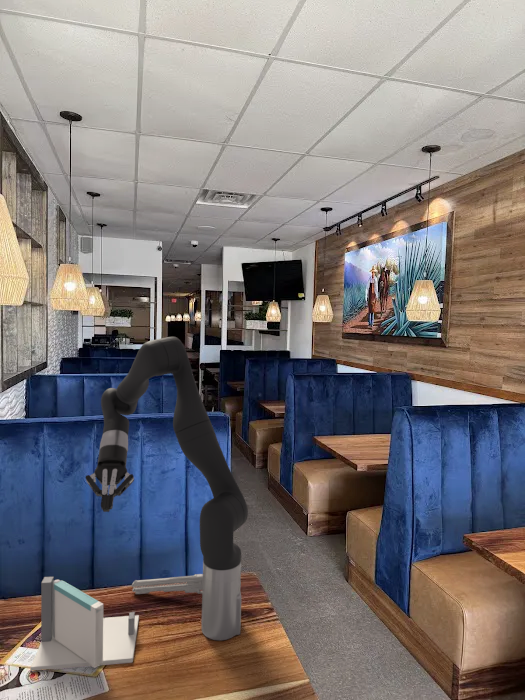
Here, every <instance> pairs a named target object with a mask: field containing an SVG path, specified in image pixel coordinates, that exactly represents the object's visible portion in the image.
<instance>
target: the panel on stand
mask: <svg viewBox="0 0 525 700" xmlns="http://www.w3.org/2000/svg"><path fill="white" fill-rule="evenodd" d="M54 581H55V580H54V576H44V577H43V579H42V581H41V583H40V584H41V585H40V586H41V590H40V591H41V593H40V595H41V596H40V597H41V600H40V601H41V603H40V604H41V612H40V613H41V617H40V618H41V621H40V623H41V624H40V625H41V627H40V628H41V629H40V631H41V633H40V635H41V637H40V639H41V640H40V641H41V642H40V644H39V647H38V649H37V651H36V653H35V656H34V658H33V659H32V663H31V665H30V668H29V669H30V670H31V671H32V670H41V669H54V670H63V669H64V668H65V669H74V668H86V666H87V667H88V668H89V667H92V666H91V665H90V663H88V662H87V661H85V660H84V659H82V658H81V657H80V656H78V655H77V654H75V653H74V652H73V651H71V650H70V649H68V648H67V647H65V646H64V645H63V644H61V643H60V642H58V641H57V640H56V639H55V638H54V637H53V582H54ZM135 613H136V612H135V611H132V612H129V613H128V614H129V615H124V616H123V615H122V616H112V617H111V616H110V617H103V663H102V664H100V665H99V666H108V665H116V664H117V665H118V664H119V665H120V664H132V663H133V661H134V656H135V649H136V641H137V634H138V628H139V627H138V625H139V620H140V615H139V614H135ZM61 668H62V669H61ZM30 670H29V671H30ZM31 671H30V672H31ZM32 672H33V671H32Z"/></svg>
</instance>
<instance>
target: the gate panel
mask: <svg viewBox="0 0 525 700" xmlns="http://www.w3.org/2000/svg"><path fill="white" fill-rule="evenodd" d="M103 618H104V602H101V601H100V600H98V599H96V598H94V597H92V596H90V595H88V594H87V593H85V592H84V591H82V590H80V589H79V588H76V587H75V586H73V585H71V583H70V584H69V583H67V582H66V581H64V580H60V579H55V580H54V582H53V637H54V638H55V639H56V640H57V641H58V642H60V643H61V644H63V645H64V646H65V647H67V648H68V649H70V650H71V651H73V652H74V653H75V654H77V655H78V656H80V657H81V658H82V659H84V660H85V661H87V662H88V663H90V665H91V666H90V667H92V668H94V669H96V668H97V667H99V666H101V665H100V664H102V663H103Z"/></svg>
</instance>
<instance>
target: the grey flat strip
mask: <svg viewBox="0 0 525 700" xmlns="http://www.w3.org/2000/svg"><path fill="white" fill-rule="evenodd" d="M241 586H242V583H241V580H240V587H241ZM131 588H132V590H131V591H132V592H133V593H135V595H143V594H145V595H146V594H150V593H152V592H164V593H168V592H184V593H185V594H189V593H190V594H192V593H197V595H199V594H201V595H202V588H203V573H197V574H196V573H195V574H194V575H186V576H185V575H181V576H174V577H173V576H171V577H164V578H162V577H161V578H153V579H140V580H139V579H138V580H137V579H135V580H134V581H133V582H132V584H131Z"/></svg>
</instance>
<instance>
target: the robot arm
mask: <svg viewBox="0 0 525 700" xmlns="http://www.w3.org/2000/svg"><path fill="white" fill-rule="evenodd" d="M192 369H193V368H192V366H191V362H190V359H189V356H188V352H187V351H186V348H185V345H184V344H183V342H182V341H181V339H179V338H178V337H176V336H168V337H161V338H157V339H152V340H149V341H146V342H144V343H143V344H142V345H141V346H140V348H139V349H138V351H137V354H136V356H135V358H134V360H133V362H132V365H131V368H130V369H129V371H128V373H127V374H126V376H125V377H124V378H123V379H122V381H121V382H120V383H119V384H118V386H117V387H116V388H114V387H110V388H107V389H106V390H104V392H103V393H102V394H101V398H100V400H101V401H100V405H101V412H102V416H103V428H102V429H103V430H102V436H101V439H100V444H99V450H98V451H99V452H98V457H97V465H96V467H95V469H94V473H92V474H90V475H89V474H88V475H87V474H86V476H85V477H84V478H85V481H86V484H88V485H89V487H90V489H91V490H92V492H93V493H94V494H95V496H96V497H100V498H101V500H100V508H101V510H102V511H103V513H106V512H107V513H109V512H110V510H112V509H113V508H114V507H113V506H114V499H115V497H120V496H121V495H122V494H123V493H124V492H125V491H126V490H127V489H128V488H129V487H130V486H131V485H132V483H134V481H135V477H134V474H133V473H131V474H130V473H129V472H128V468H127V458H128V451H129V429H130V421H129V419H128V418H127V417H126V416H130V415H133V414H134V412H136V409H137V406H138V401H139V399H140V398H142V397H143V396H144V395H145V393H146V392H147V390H148V388H149V385H150V380H149V379H151V378H153V377H158V376H159V377H160V376H164V375H167V374H168V375H169V374H172V376H173V380H174V382H175V387H176V402H175V407H174V413H173V419H172V420H173V421H172V427H173V432H174V434H175V437H176V439H177V442H178V445H179V446H180V450H181V451H182V453H183V455H184V456H185V458H187V460H188V461H190V463H192V465H193V466H195V468H196V469H198V471H200V473H201V474H202V475H203V476H204V478H205V480H206V481H207V484H208V486H209V489H210V491H211V495H212V497H213V498H212V499H210V500H209V501H206V502H205V503H204V504H203V506H202V507H201V510H200V513H199V545H200V552H201V554H202V556H203V557H202V574H203V588H202V590H201V591H202V594H201V595H202V596H201V597H202V598H201V620H200V621H201V632H202V634H203V635H204V636H205V637H206V638H207V639H210V640H212V641H213V640H214V641H227V640H229V639H231V638H233V637H235V636H237V635H241V628H242V627H241V626H242V625H241V622H242V619H241V618H242V594H241V586H240V580H241V579H242V578H241V577H242V575H241V574H242V571H241V570H242V549H241V548H240V546H239V545H238V544H236V543H234V532H236V531H237V530H239V528H241V527H242V526H243V525H244V524H245V523H246V522H247V519H248V516H249V510H248V505H247V501H246V499H245V497H244V495H243V493H242V491H241V488H240V487H239V484H238V483H237V482H236V479H235V478H234V476H233V474H232V472H231V469H230V467H229V465H228V463H227V459H226V458H225V456H224V453H223V451H222V448H221V445H220V442H219V441H218V437H217V435H216V432H215V429H214V427H213V424H212V422H211V420H210V418H209V415H208V413H207V410H206V408H205V405H204V402H203V400H202V398H201V395H200V392H199V389H198V385H197V383H196V380H195V376H194V374H193V373H194V372H193V370H192ZM96 480H98V481H99V484H101V486H102V487H101V489H100V487H99V486H98V485H97V483H96V482H97V481H96ZM120 482H121V483H120ZM118 484H119V485H118ZM117 485H118V486H117Z"/></svg>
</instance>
